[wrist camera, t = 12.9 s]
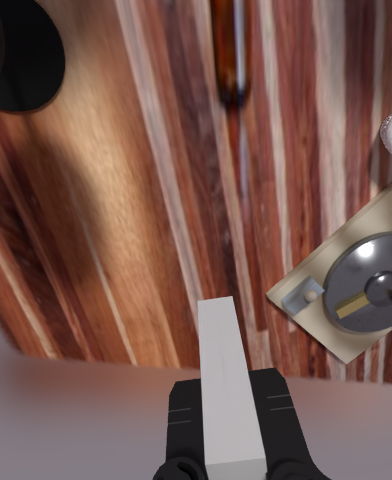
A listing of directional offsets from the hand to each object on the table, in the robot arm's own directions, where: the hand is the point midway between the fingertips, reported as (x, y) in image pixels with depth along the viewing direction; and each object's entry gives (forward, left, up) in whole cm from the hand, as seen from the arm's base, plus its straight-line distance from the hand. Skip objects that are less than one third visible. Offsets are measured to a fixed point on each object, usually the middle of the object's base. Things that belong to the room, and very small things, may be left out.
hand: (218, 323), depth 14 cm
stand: (-8, +29, -25) cm, 39 cm away
